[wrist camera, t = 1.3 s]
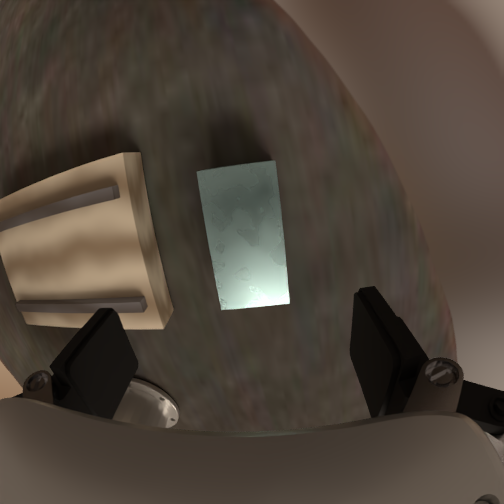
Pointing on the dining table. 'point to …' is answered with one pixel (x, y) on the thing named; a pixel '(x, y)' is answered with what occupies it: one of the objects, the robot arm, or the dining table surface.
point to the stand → (85, 247)
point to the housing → (245, 234)
